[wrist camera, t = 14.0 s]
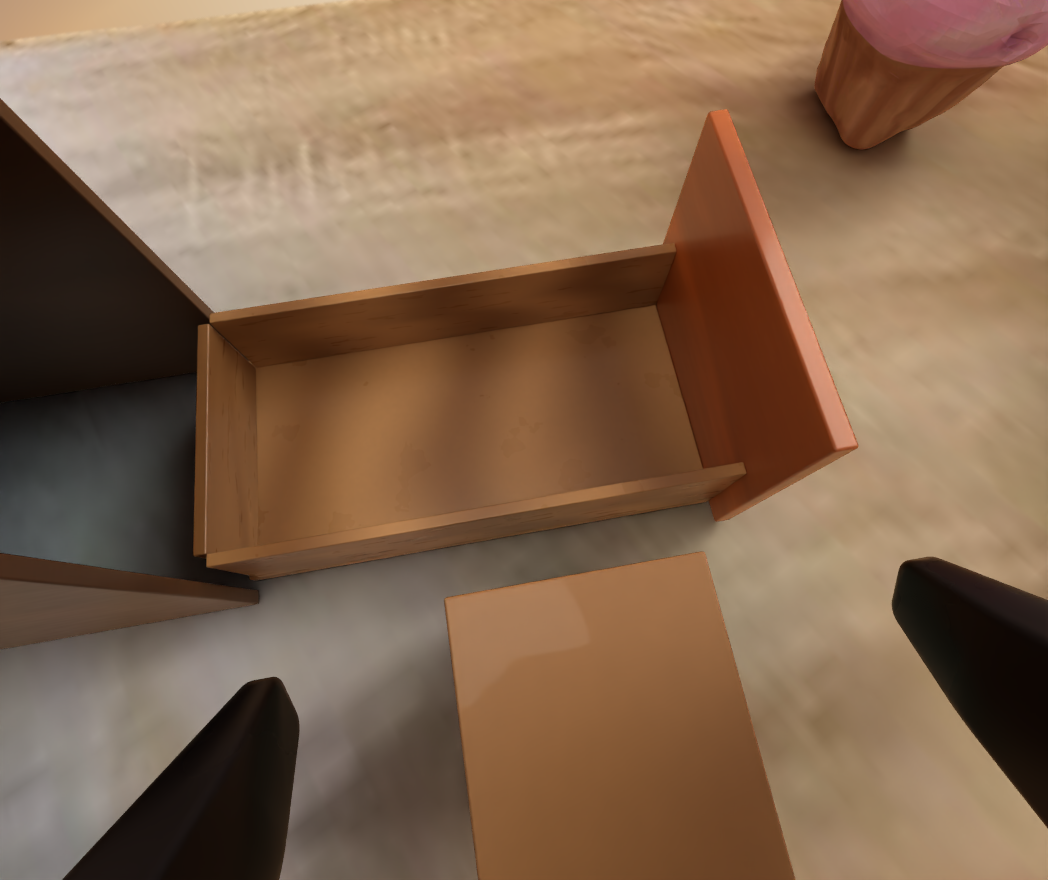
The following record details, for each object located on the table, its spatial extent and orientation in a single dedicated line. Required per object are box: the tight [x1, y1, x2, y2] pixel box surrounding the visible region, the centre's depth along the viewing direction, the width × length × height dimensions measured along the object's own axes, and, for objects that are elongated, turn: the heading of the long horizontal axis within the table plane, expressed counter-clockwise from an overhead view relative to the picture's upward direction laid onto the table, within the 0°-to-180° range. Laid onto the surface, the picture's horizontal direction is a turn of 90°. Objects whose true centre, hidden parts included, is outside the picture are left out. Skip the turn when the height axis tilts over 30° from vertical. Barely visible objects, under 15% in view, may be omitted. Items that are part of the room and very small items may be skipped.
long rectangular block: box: [444, 551, 795, 880], centre depth 14 cm, size 5×5×11 cm
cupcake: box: [815, 0, 1048, 150], centre depth 23 cm, size 9×9×10 cm
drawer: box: [193, 109, 858, 581], centre depth 18 cm, size 19×10×9 cm, turn 100°
